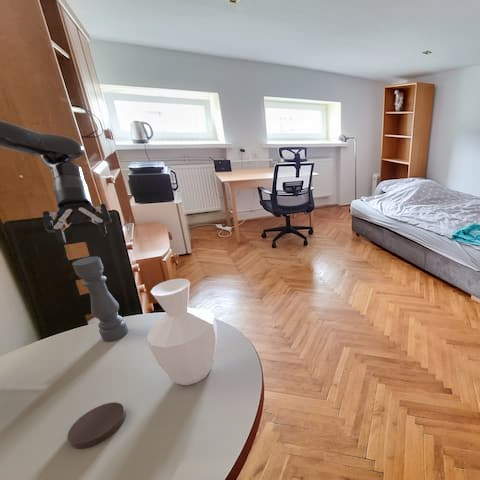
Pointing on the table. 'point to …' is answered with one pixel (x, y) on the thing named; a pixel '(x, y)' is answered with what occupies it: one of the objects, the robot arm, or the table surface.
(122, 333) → the candle holder
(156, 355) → the vase
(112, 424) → the coaster
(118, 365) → the table surface
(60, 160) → the robot arm
